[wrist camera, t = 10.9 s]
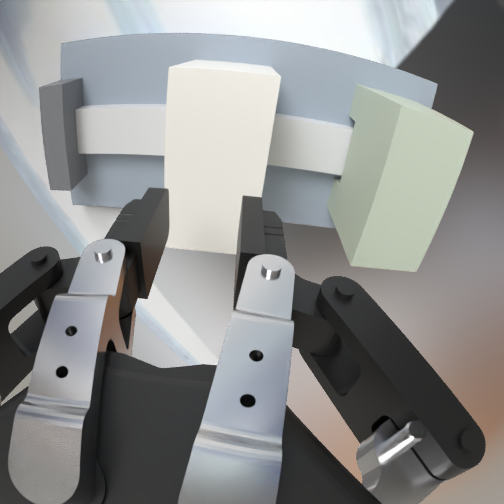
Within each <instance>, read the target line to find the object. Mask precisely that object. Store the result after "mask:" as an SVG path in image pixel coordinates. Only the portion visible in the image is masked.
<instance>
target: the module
mask: <svg viewBox="0 0 504 504" xmlns="http://www.w3.org/2000/svg"><path fill="white" fill-rule="evenodd" d="M280 81H281V76H280V75H279V74H278V73H277V72H276V71H275V70H274V69H273V68H272V67H270V66H262V65H254V64H246V63H236V62H225V61H212V60H193V61H189V62H185V63H181V64H178V65H174V66H171V67H169V71H168V85H167V102H166V123H165V159H164V188H167V189H168V190H169V223H170V225H169V235H168V240H167V242H166V248H167V247H168V248H176V249H186V250H196V251H206V252H216V253H225V254H236V252H237V239H238V229H239V221H240V212H241V204H242V197H243V195H245V196H254V197H262V191H263V185H264V179H265V173H266V167H267V160H268V154H269V148H270V142H271V136H272V130H273V124H274V118H275V112H276V105H277V99H278V93H279V87H280Z"/></svg>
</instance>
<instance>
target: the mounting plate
mask: <svg viewBox="0 0 504 504" xmlns="http://www.w3.org/2000/svg"><path fill="white" fill-rule="evenodd" d="M193 60H212V61H225V62H236V63H246V64H254V65H262V66H270V67H272V68H273V69H274V70H275V71H276V72H277V73H278V74H279V75H280V76H281V81H280V87H279V93H278V99H277V105H276V112H275V118H274V124H273V130H272V136H271V142H270V148H269V154H268V160H267V167H266V173H265V179H264V185H263V191H262V204H263V210H264V211H274V212H275V213H276V214H277V215H278V216H279V217H280V219H281V221H282V222H284V223H293V224H301V225H310V226H318V227H327V228H335V229H336V230H337V232H338V235H339V238H340V240H341V243H342V245H343V248H344V251H345V253H346V256H347V259H348V262H349V264H350V266H356V267H366V268H378V269H388V270H400V271H411V272H416V271H417V269H418V267H419V265H420V263H421V261H422V259H423V257H424V255H425V253H426V251H427V249H428V247H429V245H430V243H431V241H432V239H433V236H434V234H435V232H436V230H437V227H438V225H439V223H440V221H441V219H442V216H443V214H444V211H445V209H446V207H447V204H448V202H449V200H450V197H451V195H452V192H453V190H454V187H455V185H456V182H457V179H458V177H459V174H460V171H461V168H462V166H463V163H464V160H465V157H466V154H467V151H468V148H469V145H470V142H471V139H472V136H473V133H474V132H473V131H471V130H470V129H468V128H466V127H464V126H463V125H461V124H459V123H457V122H455V121H454V120H452V119H450V118H448V117H446V116H444V115H442V114H440V113H438V112H436V111H434V110H432V105H433V101H434V96H435V93H436V88H437V84H436V83H434V82H431V81H429V80H426V79H424V78H421V77H418V76H416V75H413V74H410V73H407V72H405V71H402V70H399V69H396V68H393V67H390V66H387V65H384V64H380V63H377V62H374V61H370V60H367V59H363V58H360V57H356V56H352V55H348V54H344V53H340V52H336V51H332V50H327V49H323V48H318V47H313V46H308V45H303V44H297V43H291V42H285V41H278V40H271V39H264V38H255V37H246V36H235V35H222V34H202V33H154V34H134V35H121V36H111V37H102V38H94V39H86V40H80V41H73V42H68V43H62V44H61V80H60V81H57V82H54V83H51V84H48V85H45V86H42V87H40V88H39V92H40V110H41V123H42V133H43V142H44V151H45V158H46V165H47V172H48V178H49V184H50V189H51V190H67V191H71V196H72V202H73V205H87V206H103V207H118V208H124V206H125V205H126V204H128V203H129V202H131V201H132V200H134V199H142V197H143V196H144V194H145V192H146V191H147V189H148V188H149V187H152V188H164V159H165V123H166V102H167V85H168V71H169V67H171V66H174V65H178V64H181V63H185V62H189V61H193Z"/></svg>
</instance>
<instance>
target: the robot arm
mask: <svg viewBox="0 0 504 504" xmlns="http://www.w3.org/2000/svg"><path fill="white" fill-rule="evenodd" d="M169 225H170V223H169V190H168V189H167V188H152V187H149V188H148V189H147V191H146V192H145V194H144V196H143V197H142V199H134V200H132V201H131V202H129V203H128V204H126V205H125V206H124V208H123V209H122V211H121V213H120V214H119V216H118V217H117V219H116V221H115V222H114V224H113V225H112V227H111V228H110V230H109V232H108V233H107V235H106V237H105V238H104V239H102V240H98V241H95V242H93V243H91V244H89V245H88V246H87V247H86V248H85V249H84V251H83V253H82V255H81V257H77V258H70V259H62V260H60V257H59V254H58V251H57V250H56V249H55V248H52V247H39V248H36V249H34V250H32V251H30V252H29V253H27V254H26V255H24V256H23V257H22V258H20V259H19V260H18V261H16V262H15V263H14V264H12V265H11V266H10V267H8V268H7V269H6V270H4V271H3V272H2V273H0V504H419V503H420V502H421V501H422V500H423V499H425V498H426V497H427V496H428V495H429V494H430V493H431V492H432V491H434V490H435V489H436V488H437V487H438V486H439V485H440V484H442V483H444V482H446V481H448V480H450V479H452V478H454V477H456V476H458V475H459V474H461V473H463V472H465V471H467V470H469V469H471V468H473V467H474V466H476V465H477V464H478V463H479V462H480V461H481V460H482V458H483V456H484V453H485V438H484V435H483V433H482V430H481V429H480V427H479V426H478V425H477V423H476V422H475V421H474V420H473V418H472V417H471V416H470V414H469V413H468V412H467V411H466V409H465V408H464V407H463V406H462V404H461V403H460V402H459V400H458V399H457V398H456V397H455V395H454V394H453V393H452V391H451V390H450V389H449V388H448V387H447V385H446V384H445V383H444V382H443V380H442V379H441V378H440V377H439V375H438V374H437V373H436V372H435V371H434V369H433V368H432V367H431V366H430V365H429V363H428V362H427V361H426V360H425V359H424V357H423V356H422V355H421V354H420V353H419V351H418V350H417V349H416V348H415V347H414V346H413V344H412V343H411V342H410V341H409V340H408V339H407V337H406V336H405V335H404V334H403V333H402V332H401V330H400V329H399V328H398V327H397V326H396V325H395V324H394V322H393V321H392V320H391V319H390V318H389V317H388V316H387V315H386V313H385V312H384V311H383V310H382V309H381V308H380V307H379V306H378V305H377V303H376V302H375V301H374V300H373V299H372V298H371V297H370V296H369V295H368V293H367V292H366V291H365V290H364V289H363V288H362V287H361V286H360V285H359V284H358V283H356V282H355V281H353V280H351V279H349V278H346V277H341V276H333V277H329V278H327V279H325V280H324V281H323V283H322V285H319V284H316V283H312V282H310V281H307V280H304V279H302V278H300V277H299V276H297V275H296V274H295V270H294V268H293V266H292V265H291V263H290V262H288V261H287V255H286V248H285V241H284V237H283V235H284V234H283V230H282V221H281V219H280V217H279V216H278V215H277V214H276V213H275V212H274V211H264V210H263V204H262V197H254V196H245V195H243V197H242V204H241V212H240V221H239V229H238V239H237V252H236V270H235V288H234V306H233V308H234V309H233V312H232V315H231V318H230V322H229V325H228V329H227V333H226V336H225V340H224V344H223V347H222V351H221V354H220V358H219V361H218V365H217V366H216V365H205V364H202V365H193V366H184V367H173V368H158V367H156V366H153V365H151V364H148V363H146V362H143V361H141V360H138V359H136V358H133V357H132V346H133V336H134V325H135V317H136V310H135V304H136V301H137V298H143V299H148V296H149V293H150V289H151V286H152V283H153V280H154V277H155V274H156V271H157V268H158V265H159V262H160V260H161V256H162V254H163V251H164V248H165V245H166V242H167V240H168V235H169ZM32 300H34V301H35V304H36V306H37V308H38V310H37V311H36V312H35V313H34V314H33V315H32V316H30V317H29V318H28V319H27V320H26V321H25V322H24V323H23V324H21V325H20V326H19V327H18V328H17V329H16V330H15V331H14V332H13V333H11V334H10V333H9V331H8V325H9V322H10V320H11V319H12V318H13V317H14V316H15V315H16V314H17V313H19V312H20V311H21V310H22V309H23V308H24V307H26V306H27V305H28V304H29V303H30V302H31V301H32ZM292 347H294V348H298V349H299V351H300V354H301V356H302V357H303V359H304V360H305V362H306V363H307V365H308V366H309V368H310V369H311V371H312V372H313V374H314V376H315V377H316V379H317V380H318V382H319V383H320V385H321V386H322V388H323V389H324V391H325V392H326V394H327V395H328V397H329V398H330V400H331V401H332V402H333V404H334V405H335V407H336V408H337V410H338V411H339V413H340V414H341V416H342V417H343V419H344V420H345V422H346V423H347V425H348V426H349V428H350V429H351V430H352V432H353V434H354V435H355V437H356V438H357V439H358V441H359V443H360V445H359V447H358V450H357V455H356V459H357V463H358V467H359V469H360V471H361V473H362V479H363V480H362V484H361V483H360V482H359V481H358V480H357V479H356V478H355V477H354V476H353V475H352V474H351V473H350V472H349V471H348V470H347V469H346V468H345V467H344V466H343V465H342V464H341V463H340V462H339V461H338V460H337V459H336V458H335V457H334V456H333V455H332V454H331V453H330V452H329V450H328V449H327V448H326V447H325V446H324V445H323V444H322V443H321V442H320V441H319V440H318V439H317V438H316V437H315V436H314V435H313V434H312V432H311V431H310V430H309V429H308V428H307V427H306V426H305V425H304V424H303V423H302V422H301V420H300V419H299V418H298V417H297V416H296V415H295V414H294V413H293V412H292V411H291V409H290V408H289V407H288V406H287V405H286V401H287V392H288V382H289V374H290V363H291V353H292ZM32 370H33V371H32ZM31 371H32V375H31V380H30V383H29V386H28V387H26V388H25V389H24V390H22V391H21V392H20V393H18V394H17V395H15V396H14V397H13V398H11V399H10V400H8V401H7V402H6V403H4V404H3V405H2V406H1V402H2V401H3V400H4V399H5V398H6V397H7V396H8V395H9V393H10V392H11V391H12V390H13V389H14V388H15V387H16V386H17V385H18V384H19V383H20V382H21V381H22V380H23V379H24V378H25V377H26V376H27V375H28V374H29V373H30V372H31Z"/></svg>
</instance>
